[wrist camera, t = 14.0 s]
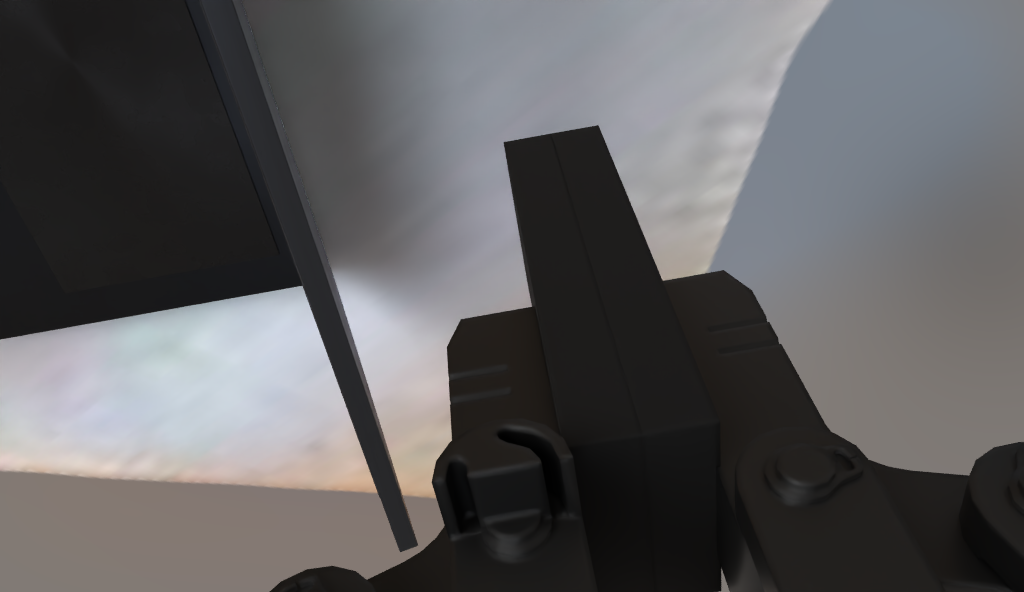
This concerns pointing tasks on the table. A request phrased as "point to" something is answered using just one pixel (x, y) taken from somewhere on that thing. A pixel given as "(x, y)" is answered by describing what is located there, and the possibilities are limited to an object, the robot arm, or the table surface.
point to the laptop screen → (304, 244)
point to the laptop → (124, 168)
